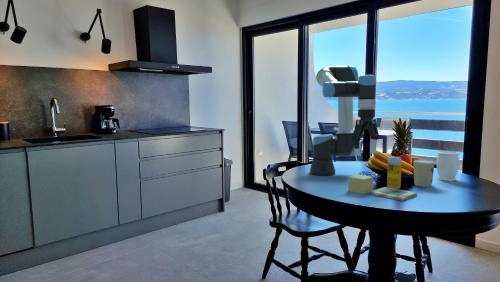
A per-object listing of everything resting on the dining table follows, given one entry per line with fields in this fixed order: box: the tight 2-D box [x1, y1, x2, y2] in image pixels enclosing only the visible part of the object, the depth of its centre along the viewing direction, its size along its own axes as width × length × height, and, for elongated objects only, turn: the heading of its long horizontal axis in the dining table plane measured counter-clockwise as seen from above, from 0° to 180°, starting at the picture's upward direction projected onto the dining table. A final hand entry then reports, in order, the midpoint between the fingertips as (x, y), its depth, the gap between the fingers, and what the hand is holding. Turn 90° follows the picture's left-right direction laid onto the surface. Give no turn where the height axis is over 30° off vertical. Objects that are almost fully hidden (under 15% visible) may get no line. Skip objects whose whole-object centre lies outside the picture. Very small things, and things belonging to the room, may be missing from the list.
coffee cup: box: [413, 159, 435, 188], centre depth 167 cm, size 9×9×12 cm
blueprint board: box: [369, 186, 418, 202], centre depth 149 cm, size 15×13×1 cm
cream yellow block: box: [347, 174, 374, 195], centre depth 156 cm, size 8×8×7 cm
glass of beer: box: [386, 156, 402, 190], centre depth 162 cm, size 6×6×15 cm
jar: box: [435, 150, 460, 182], centre depth 178 cm, size 11×10×15 cm
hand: (365, 154), depth 156 cm, fingers open, 13 cm apart
